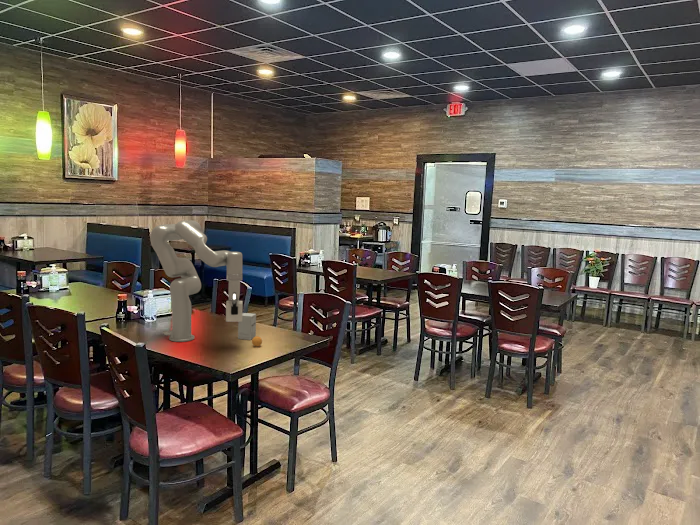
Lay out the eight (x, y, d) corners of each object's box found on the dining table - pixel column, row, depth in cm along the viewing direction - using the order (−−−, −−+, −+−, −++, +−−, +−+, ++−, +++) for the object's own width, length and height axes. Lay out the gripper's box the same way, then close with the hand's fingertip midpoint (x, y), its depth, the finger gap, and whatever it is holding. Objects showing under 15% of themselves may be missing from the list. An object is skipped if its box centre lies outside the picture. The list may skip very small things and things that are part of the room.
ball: (258, 349, 271) (250, 344, 269) (258, 346, 275) (249, 341, 274) (264, 340, 271) (255, 335, 270) (263, 338, 276) (255, 333, 274)
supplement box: (250, 340, 284) (251, 316, 282) (237, 339, 285) (237, 315, 284) (256, 336, 291) (256, 313, 290) (243, 335, 292) (243, 312, 291)
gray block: (226, 321, 264) (226, 303, 263) (226, 318, 271) (226, 300, 270) (242, 321, 265) (242, 303, 264) (242, 318, 273) (242, 300, 272)
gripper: (227, 274, 274) (227, 309, 276) (225, 279, 257) (226, 316, 259) (242, 274, 275) (242, 309, 277) (242, 279, 258) (242, 316, 260)
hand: (234, 312), depth 268 cm, fingers closed on gray block, 7 cm apart
